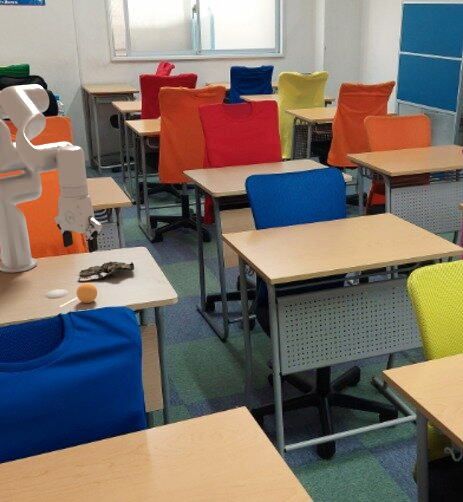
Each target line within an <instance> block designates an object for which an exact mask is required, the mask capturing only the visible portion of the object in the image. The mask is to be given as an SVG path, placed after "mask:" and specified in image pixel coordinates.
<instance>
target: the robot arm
mask: <svg viewBox="0 0 463 502" xmlns="http://www.w3.org/2000/svg"><path fill="white" fill-rule="evenodd" d="M49 105H50V98H49V95H48V93H47V91H46V89H45V88H44V87H43V86H41V85H40V84H35V83H33V84H32V83H31V84H22V85H11V86H7V87H5V88H3V89H2V90H0V175H1V174H2V175H3V174H8V173H14V172H20V171H21V172H22V173H19V174H13V175H7V176H3V177H0V261H1V263H0V271H1V272H3V273H9V274H10V273H12V274H13V273H21V272H22V273H23V272H26V271H29V270H32V269H34V268H35V267H36V266H37V264H38V261H37V259H36V258H34V257H32V252H31V245H30V237H29V233H28V227H27V220H26V216H25V214H24V212H23V211H21V209H20V208H18V207H17V205H19V204H22V203H27V202H31V201H32V202H33V201H35V200H37V199H39V198H40V197H41V195H42V191H43V185H42V179H41V174H42V173H47V172H51V171H52V172H53V171H57V177H58V185H59V186H58V189H59V192H60V195H59V196H58V200H57V201H58V203H57V205H58V206H57V209H58V210H57V211H58V212H57V213H58V215H57V216H55V217H53V218H54V221H55V223H56V224H57V225H56V226H57V228H58V229H59V232H60V234H61V235H62V242H63V247H64V248H68V247H69V246H70V247H71V246H72V245H73V244H74V240H73V233H78V234H85V235H86V237H88V239H87V250H88V253H89V254H90V253H91V254H92V253H94V252H97V251H98V249H99V244H98V238H99V235H100V234H101V231H102V228H103V224H102V223H101V222H99V221H98V220H97V219H96V218H95V213H94V208H93V204H92V201H91V200H92V199H91V196H90V195H89V189H88V179H87V171H86V170H87V169H86V160H85V152H84V149H83V148H82V147H81V146H78V145H73V144H72V142H68V141H58V142H57V141H56V142H50V143H44V144H38V145H33V144H32V142H30V141H32V140H33V139H35V138H36V137H38V135H41V133H42V132H43V131H44V129H45V128H46V126H47V125H46V124H47V120H46V117H45V115H44V114H43V113H44V112H46V111H47V110H48V108H49ZM4 119H9V120H10V122H12V124H13V125H14V127H15V128H16V129H17V131H16V134H15V141H12V135H11V129H10V128H9V126H8V125H7V123H6V122H5V121H4Z"/></svg>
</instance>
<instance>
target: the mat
mask: <svg viewBox="0 0 463 502" xmlns="http://www.w3.org/2000/svg"><path fill="white" fill-rule="evenodd" d="M68 294H69V291H68V290H67V289H62V288H60V289H53V290H50V291H47V292H46V293H45V294H44V296H45V298H46V299H50V300H51V299H60V298H64V297H66V296H68ZM77 300H79V299H78V297H77V296H76V297H75V298H73V299H70V300H68V301H67V302H65V303H63V304H61V305H59V306H58V307H59V308H62V307H64V306H67V305H69V304H71V303H72V302H74V301H77Z"/></svg>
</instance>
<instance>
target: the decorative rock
mask: <svg viewBox="0 0 463 502" xmlns="http://www.w3.org/2000/svg"><path fill="white" fill-rule="evenodd" d="M125 270H129V271H134V270H135V264H134V262H132V261H131V263H125V262H122V261H120V262H119V261H111V260H110V261H108V262H103V264H101V265H94V266H90V267H88V268H86V269H82V270H80V272H78V273H79V275H80V276H79V278H78V280H77V281H78V282H81V280H83V279H84V282H88V281H93V280H95V278H92V277H93V276H97V277H96V280H100V281H101V280H102V279H105V278H107V277H110V276H112V275H113V273H114V272H119V271H125ZM102 274H104V275H102Z"/></svg>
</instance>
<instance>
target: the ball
mask: <svg viewBox="0 0 463 502" xmlns="http://www.w3.org/2000/svg"><path fill="white" fill-rule="evenodd" d="M97 296H98V289H97V287H96V286H95V285H94V284H93V283H90V282H84V283H82V284H80V285H79V286H78V287H77V290H76V297H78V299H77V300H79V301H80V302H82V303H84V304H89V303H92V302H93V301H95V300H96V299H97Z"/></svg>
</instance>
